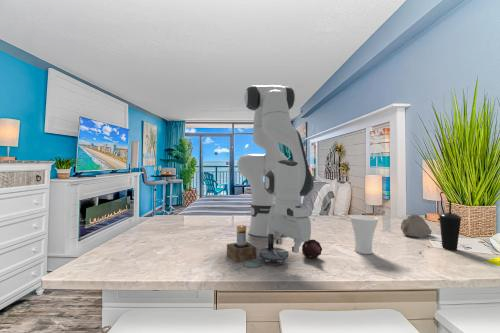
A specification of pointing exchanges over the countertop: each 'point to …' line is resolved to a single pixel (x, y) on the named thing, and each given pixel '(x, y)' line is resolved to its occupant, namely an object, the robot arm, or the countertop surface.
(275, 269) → the countertop surface
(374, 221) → the cup
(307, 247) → the maroon cone figure
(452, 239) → the drinking cup
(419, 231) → the pumice stone
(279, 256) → the handwheel
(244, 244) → the orange topped grey cylinder
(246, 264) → the coaster
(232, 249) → the block
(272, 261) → the wheel post
